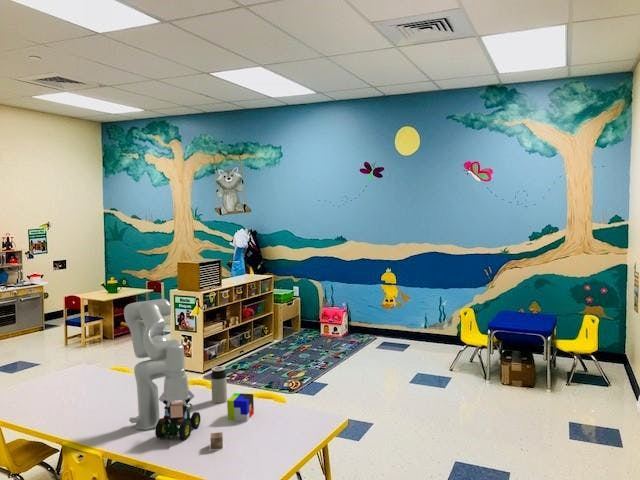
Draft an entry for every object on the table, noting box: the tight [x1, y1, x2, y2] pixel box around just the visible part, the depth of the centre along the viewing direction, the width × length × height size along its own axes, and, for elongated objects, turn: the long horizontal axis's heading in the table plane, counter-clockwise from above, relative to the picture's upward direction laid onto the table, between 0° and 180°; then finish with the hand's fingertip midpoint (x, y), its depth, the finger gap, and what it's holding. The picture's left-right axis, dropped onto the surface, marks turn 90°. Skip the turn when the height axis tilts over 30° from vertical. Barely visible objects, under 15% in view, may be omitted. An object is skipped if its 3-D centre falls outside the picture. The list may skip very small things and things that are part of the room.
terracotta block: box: [170, 400, 183, 418], centre depth 226 cm, size 5×5×5 cm
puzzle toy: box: [226, 392, 255, 422], centre depth 262 cm, size 10×10×10 cm
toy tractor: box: [154, 401, 201, 441], centre depth 244 cm, size 14×22×15 cm, turn 169°
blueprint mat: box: [208, 441, 226, 452], centre depth 229 cm, size 14×12×1 cm
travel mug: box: [210, 365, 228, 404], centre depth 283 cm, size 8×8×18 cm
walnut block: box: [209, 431, 224, 451], centre depth 229 cm, size 5×5×5 cm
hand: (177, 413), depth 227 cm, fingers closed on terracotta block, 5 cm apart
